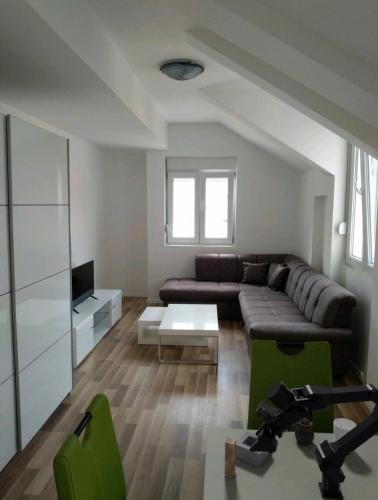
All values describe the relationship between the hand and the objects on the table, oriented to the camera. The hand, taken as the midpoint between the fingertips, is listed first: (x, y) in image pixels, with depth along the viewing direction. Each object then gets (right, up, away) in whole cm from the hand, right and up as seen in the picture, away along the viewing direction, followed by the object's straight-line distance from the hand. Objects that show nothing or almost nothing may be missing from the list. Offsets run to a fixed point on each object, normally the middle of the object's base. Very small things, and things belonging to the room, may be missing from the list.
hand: (253, 442), depth 130 cm
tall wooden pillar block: (-7, -13, +4) cm, 15 cm away
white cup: (+37, -12, +19) cm, 43 cm away
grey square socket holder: (+2, -12, +15) cm, 19 cm away
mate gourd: (+23, -11, +24) cm, 35 cm away
